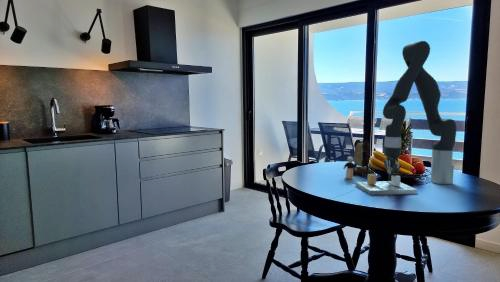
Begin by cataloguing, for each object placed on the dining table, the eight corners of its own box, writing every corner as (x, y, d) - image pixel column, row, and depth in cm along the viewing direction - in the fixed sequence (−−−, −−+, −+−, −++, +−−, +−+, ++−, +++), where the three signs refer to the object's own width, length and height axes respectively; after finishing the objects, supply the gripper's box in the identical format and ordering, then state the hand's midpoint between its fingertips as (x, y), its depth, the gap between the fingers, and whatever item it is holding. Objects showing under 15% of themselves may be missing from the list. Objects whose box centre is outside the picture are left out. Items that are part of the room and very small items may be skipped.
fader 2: (396, 184, 160) (397, 174, 159) (400, 185, 157) (400, 176, 156) (391, 184, 160) (391, 174, 159) (394, 185, 157) (394, 176, 156)
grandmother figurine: (341, 179, 181) (342, 156, 180) (343, 177, 185) (344, 155, 183) (356, 180, 178) (357, 157, 176) (357, 179, 181) (358, 156, 180)
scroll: (342, 172, 199) (343, 139, 197) (361, 170, 205) (362, 138, 203) (360, 177, 185) (361, 142, 183) (380, 175, 192) (381, 140, 189)
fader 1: (373, 182, 163) (373, 173, 163) (375, 184, 160) (376, 174, 160) (367, 182, 163) (367, 173, 162) (369, 184, 160) (370, 174, 159)
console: (397, 184, 168) (397, 180, 168) (416, 193, 151) (417, 189, 151) (355, 185, 166) (355, 181, 166) (370, 194, 149) (370, 190, 149)
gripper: (407, 147, 154) (405, 184, 156) (393, 144, 167) (391, 178, 169) (391, 147, 153) (390, 184, 155) (378, 144, 167) (377, 178, 168)
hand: (391, 181), depth 162 cm, fingers closed
